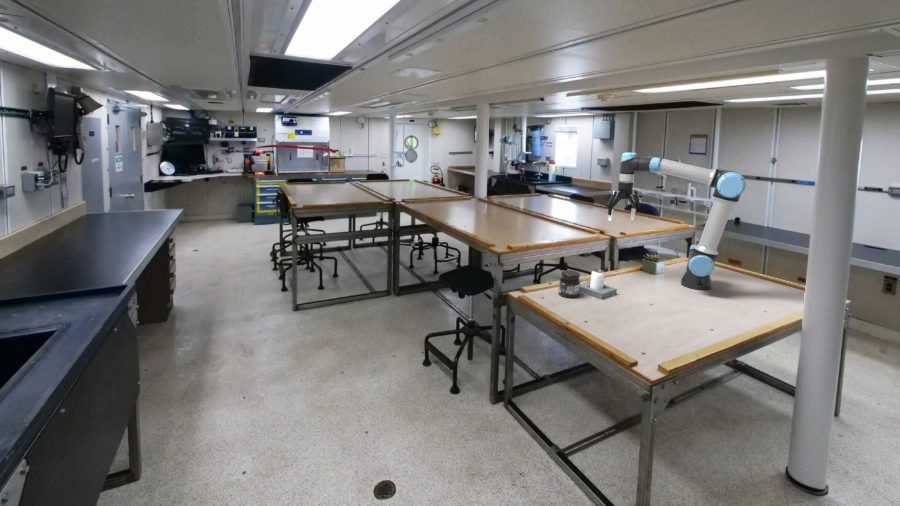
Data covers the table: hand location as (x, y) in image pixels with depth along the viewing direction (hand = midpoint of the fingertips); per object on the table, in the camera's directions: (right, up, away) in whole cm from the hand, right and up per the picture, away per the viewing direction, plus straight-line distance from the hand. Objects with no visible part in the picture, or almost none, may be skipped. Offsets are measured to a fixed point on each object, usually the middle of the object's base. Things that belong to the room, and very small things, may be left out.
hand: (621, 220), depth 256 cm
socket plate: (-17, -39, -11) cm, 44 cm away
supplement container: (-33, -40, -15) cm, 54 cm away
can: (-17, -39, -11) cm, 44 cm away
